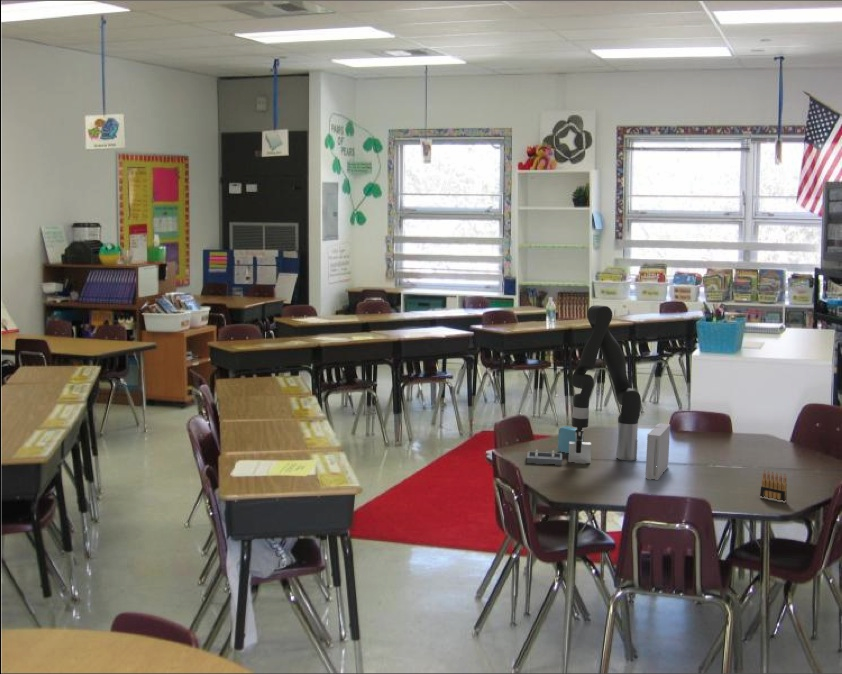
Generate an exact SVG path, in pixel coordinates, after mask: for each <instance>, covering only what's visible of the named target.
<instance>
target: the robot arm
mask: <svg viewBox="0 0 842 674" xmlns="http://www.w3.org/2000/svg"><path fill="white" fill-rule="evenodd" d="M586 317H587V320H588V323H589V325H590V327H591V329H592V333H591V335H590V337H589V338H588V340H587V342H586V343H585V345H584V347H583V350H582V352H581V355H580V360H579V363H578V364H577V366H576V368H575V370H574V371H573V373H572V377H571V384H572V386H573V387H574V388H575V389H576V388H577V389H581V391H580V393H575V394H574V396H573V405H572V406H573V408H572V416H571V427H572V428H576V429H577V430H575V435H576V439H575V440H576V453H581V445H582V441H583V435H584V436H585V430H583V429H585V428H588V427H589V422H590V421H589V420H590V419H589V418H590V408H589V407H590V397H591V395H592V392H593V389H594V386H595V381H594V378H593V376H592V375H590V374H588V373H587V372H588V371H591V370H594V368H595V366H596V363H597V359H598V355H599V352H601V354H602V358H603V360H604V364H605V366H606V369H607V370H608V374H609V376H610V378H611V380H612V383H613V384H612V385H613V387H614V392H615V397H616V400H617V402H618V404H619V405H621V410H620V415H618V416H617V433H616V437H617V438H616V456H615V457H616V459H617V458H618V460H622V461H637V459H638V458H637V456H638V430H639V429H638V428H639V419H640V414H641V403H642V398H641V397H642V396H641V394H640V393H639V392H638V391H637V390H636V389H633V388H632V385H631V383H630V380H629V379H628V374H627V362H626V358H625V355H624V352H623V349H622V347H621V346H620V344H619V342H618V340H616V338H615V337H614V336H613V334H612V333H611V332H610V329H609V326H610V324H611V322H612V319H613V311H612V309H611V308H610V306H608V305H604V304H603V305H602V304H600V305H597V304H594V305H592V306H590V307H589V308H588V309H587V313H586ZM599 350H600V351H599Z"/></svg>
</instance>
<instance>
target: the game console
mask: <svg viewBox="0 0 842 674" xmlns="http://www.w3.org/2000/svg"><path fill="white" fill-rule="evenodd" d="M670 433H671V424H669V423H661V422H660V423H659V422H658V423H657V424H656V425H655V426H654V427H653V429H651V430H650V431H649V432H648V433H647V437H646V438H647V439H646V440H647V441H646V457H645V458H646V459H645V460H646V461H645V478H644V479H646V478H647V479H646V480H651V479H655V480H654V481H658V480H659V479H660V478H661V477H662V475H664V473H665V471H666V470H667V469H668V465H669V456H670V455H669V454H670V437H671V434H670ZM656 466H657V467H656ZM663 472H664V473H663ZM660 476H661V477H660Z"/></svg>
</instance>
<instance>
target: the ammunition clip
mask: <svg viewBox="0 0 842 674" xmlns="http://www.w3.org/2000/svg"><path fill="white" fill-rule="evenodd" d="M778 475H779V476H778ZM761 478H762V479H761V486H760V493H759V497H760V496H762V497H764V496H765V497H768V498H774V499H777V500H783V501H785V500H786V501H787V494H788V493H787V475H786V473H785V474H784V476H783V475H782V473H780V474H778V472H775V474H774V471H772V472H771V473H770V471H769V470H768V471H767V473H766V470H765V469H764V471H762V477H761Z"/></svg>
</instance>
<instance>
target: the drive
mask: <svg viewBox="0 0 842 674" xmlns="http://www.w3.org/2000/svg"><path fill="white" fill-rule="evenodd" d="M591 456H592V442H589V441H588V442H587V441H586V442H585V441H584V442H582V445H581V453H576V442H569V454H568V462H575V463H574V464H585V463H590V464H591V458H592V457H591Z"/></svg>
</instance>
